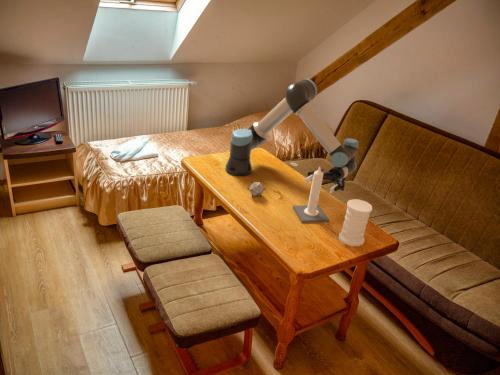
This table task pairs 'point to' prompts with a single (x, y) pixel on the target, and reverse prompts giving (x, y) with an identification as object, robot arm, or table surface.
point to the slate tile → (307, 219)
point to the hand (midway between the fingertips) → (317, 186)
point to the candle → (314, 193)
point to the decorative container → (355, 222)
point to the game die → (256, 188)
